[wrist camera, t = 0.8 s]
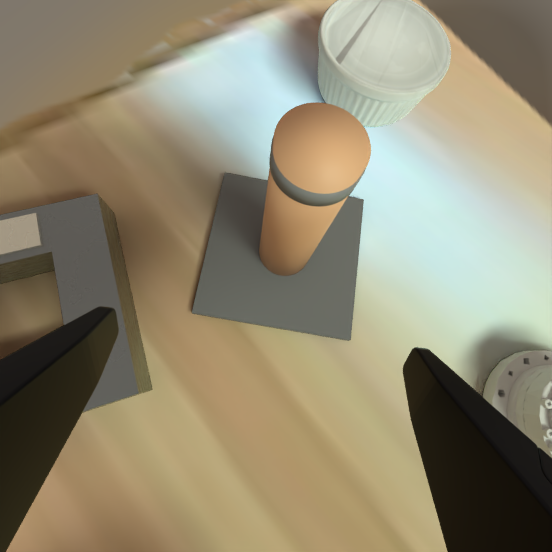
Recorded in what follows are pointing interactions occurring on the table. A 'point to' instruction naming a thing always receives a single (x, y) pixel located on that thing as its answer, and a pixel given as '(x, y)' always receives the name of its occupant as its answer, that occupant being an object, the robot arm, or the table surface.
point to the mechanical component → (525, 394)
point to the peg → (309, 181)
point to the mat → (271, 287)
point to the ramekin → (380, 58)
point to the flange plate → (81, 279)
